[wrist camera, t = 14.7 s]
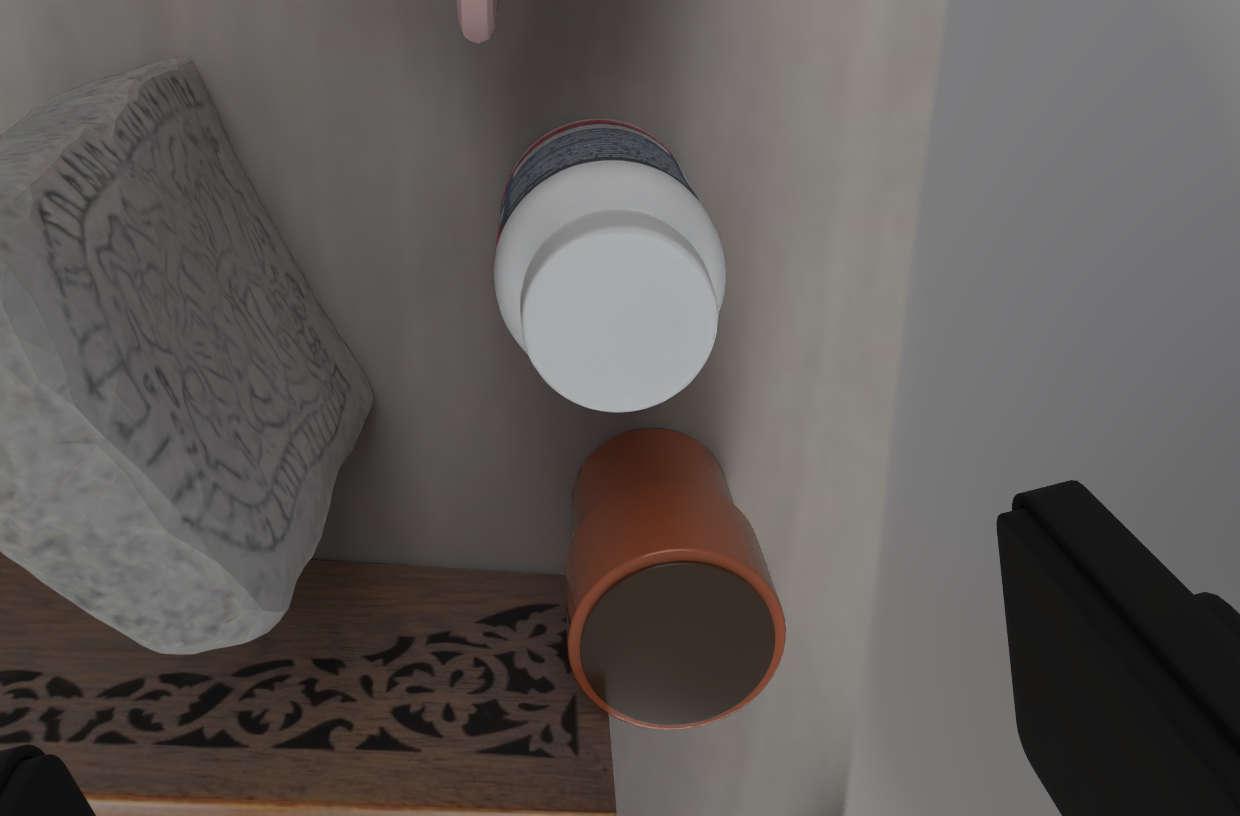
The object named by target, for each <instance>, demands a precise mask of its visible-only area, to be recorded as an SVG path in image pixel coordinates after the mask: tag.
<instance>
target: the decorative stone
mask: <svg viewBox="0 0 1240 816" xmlns="http://www.w3.org/2000/svg"><path fill="white" fill-rule="evenodd" d="M372 404H373V394H372V390H371V387H370V384H369V381H368V379H367V378H366V376H365V375H364V373H363V371H362V370H361V368H360V366H359V365H358V363H357V362H356V360H355V358H354V357H353V355H352V354H351V352H350V350H349V349H348V348H347V346H346V345H345V344H344V342H343V341H342V340H341V338H340V337H339V336H338V334H337V332H336V331H335V329H334V328H333V326H332V324H331V323H330V321H329V320H328V318H327V317H326V316H325V314H324V313H323V311H322V310H321V308H320V307H319V305H318V304H317V301H316V299H315V297H314V295H313V293H312V291H311V289H310V288H309V286H308V284H307V282H306V281H305V279H304V277H303V275H302V274H301V272H300V270H299V269H298V267H297V265H296V263H295V262H294V260H293V258H292V256H291V255H290V253H289V251H288V249H287V248H286V246H285V244H284V243H283V241H282V239H281V237H280V236H279V234H278V232H277V230H276V229H275V227H274V225H273V223H272V222H271V220H270V218H269V217H268V215H267V213H266V211H265V210H264V208H263V206H262V204H261V203H260V201H259V199H258V197H257V195H256V193H255V191H254V189H253V188H252V186H251V184H250V182H249V180H248V178H247V176H246V174H245V172H244V171H243V169H242V167H241V165H240V163H239V161H238V159H237V157H236V155H235V153H234V151H233V149H232V147H231V144H230V142H229V140H228V138H227V136H226V134H225V132H224V129H223V127H222V125H221V123H220V120H219V118H218V116H217V114H216V111H215V109H214V107H213V105H212V103H211V100H210V98H209V96H208V94H207V92H206V90H205V87H204V85H203V83H202V81H201V79H200V77H199V74H198V72H197V70H196V68H195V66H194V65H193V63H192V62H191V61H190V60H188V59H186V58H183V57H180V58H172V59H168V60H163V61H159V62H155V63H151V64H148V65H145V66H142V67H139V68H136V69H134V70H131V71H128V72H125V73H123V74H120V75H116V76H111V77H107V78H103V79H100V80H97V81H94V82H92V83H89V84H86V85H83V86H80V87H77V88H75V89H72V90H70V91H66V92H64V93H62V94H59V95H56V96H55V97H53V98H51V99H50V100H48V101H47V102H45V103H43V104H42V105H40V106H38V107H36V108H35V109H33V110H31V111H30V112H29V113H28V114H27V115H26V117H24V118H23V119H22V120H21V121H19V122H18V123H17V124H15V125H14V126H13V127H11V128H10V129H9V130H7V131H6V132H5V133H3V134H2V135H0V552H2V553H3V554H4V555H5V556H7V557H8V558H9V559H11V560H13V561H14V562H16V563H17V564H19V565H20V566H22V567H24V568H25V569H26V570H27V571H29V572H30V573H31V574H32V575H34V576H35V577H36V578H37V579H39V580H40V581H41V582H42V583H44V584H45V585H47V586H48V587H50V588H51V589H53V590H54V591H56V592H57V593H59V594H60V595H62V596H63V597H65V598H67V599H68V600H70V601H71V602H73V603H74V604H76V605H77V606H78V607H80V608H81V609H83V610H84V611H86V612H87V613H89V614H90V615H92V616H93V617H95V618H96V619H98V620H100V621H102V622H104V623H105V624H107V625H109V626H111V627H113V628H114V629H116V630H118V631H120V632H121V633H123V634H124V635H126V636H128V637H129V638H131V639H132V640H134V641H136V642H137V643H139V644H140V645H142V646H144V647H146V648H148V649H151V650H153V651H156V652H158V653H161V654H180V655H183V654H197V653H200V652H204V651H208V650H213V649H218V648H223V647H229V646H234V645H240V644H243V643H246V642H249V641H251V640H253V639H255V638H258V637H260V636H262V635H264V634H266V633H268V632H269V631H270V630H271V629H272V628H273V627H274V626H275V625H276V624H277V623H278V622H279V621H280V620H281V618H282V617H283V615H284V614H285V613H286V611H287V610H288V608H289V605H290V602H291V598H292V595H293V591H294V588H295V584H296V581H297V579H298V577H299V576H300V574H301V572H302V570H303V568H304V567H305V566H306V564H307V563H308V562H309V560H310V559H311V558H312V556H313V554H314V552H315V549H316V547H317V545H318V543H319V541H320V539H321V537H322V533H323V528H324V524H325V522H326V518H327V515H328V511H329V508H330V504H331V495H332V491H333V488H334V485H335V481H336V478H337V475H338V472H339V469H340V467H341V466H342V464H343V462H344V461H345V459H346V458H347V457H348V456H349V455H350V453H351V452H352V451H353V448H354V446H355V444H356V441H357V439H358V437H359V435H360V433H361V430H362V427H363V425H364V422H365V420H366V418H367V416H368V414H369V412H370V411H371V408H372Z"/></svg>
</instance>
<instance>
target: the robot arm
mask: <svg viewBox="0 0 1240 816" xmlns="http://www.w3.org/2000/svg"><path fill="white" fill-rule="evenodd" d="M997 536H998V545H999V555H1000V565H1001V575H1002V584H1003V595H1004V604H1005V615H1006V624H1007V634H1008V644H1009V654H1010V663H1011V674H1012V684H1013V693H1014V702H1015V713H1016V723H1017V729H1018V733H1019V737H1020V740H1021V743H1022V746H1023V749H1024V752H1025V754H1026V756H1027V758H1028V760H1029V762H1030V764H1031V766H1032V767H1033V769H1034V771H1035V772H1036V774H1037V775H1038V777H1039V779H1040V780H1041V782H1042V784H1043V785H1044V787H1045V789H1046V790H1047V792H1048V793H1049V795H1050V797H1051V798H1052V800H1053V802H1054V803H1055V805H1056V807H1057V808H1058V810H1059V811H1060V813H1061V814H1062V816H1240V614H1239V613H1238V612H1237V611H1236V610H1235V609H1234V608H1233V607H1232V606H1231V605H1229V604H1228V603H1227V602H1225V601H1224V600H1223V599H1221V598H1220V597H1219V596H1217V595H1215V594H1211V593H1207V592H1203V593H1199V594H1195V595H1193V594H1192V593H1191V592H1190V591H1189V590H1188V589H1187V588H1186V587H1185V586H1184V585H1183V584H1182V583H1181V582H1180V581H1179V580H1178V579H1177V578H1176V577H1175V576H1174V575H1173V574H1172V573H1171V572H1170V571H1169V570H1168V569H1167V568H1166V567H1165V566H1164V565H1163V564H1162V563H1161V562H1160V561H1159V560H1158V559H1157V558H1156V557H1155V556H1154V555H1153V554H1152V553H1151V552H1150V551H1149V550H1148V549H1147V548H1146V547H1145V546H1144V545H1143V544H1142V543H1141V542H1140V541H1139V540H1138V539H1137V538H1136V537H1135V536H1134V535H1133V534H1132V533H1131V532H1130V531H1129V530H1128V529H1127V528H1126V527H1125V526H1124V525H1123V524H1122V523H1121V522H1120V521H1119V520H1118V519H1117V518H1116V517H1114V515H1113V514H1112V513H1111V512H1110V511H1109V510H1108V509H1107V508H1106V507H1105V506H1104V505H1103V504H1102V503H1101V502H1099V500H1097V498H1096V497H1095V496H1094V495H1093V494H1092V493H1091V492H1090V491H1089V490H1088V489H1087V488H1086V487H1084V486H1083V485H1082V484H1081V483H1079V482H1078V481H1074V480H1070V481H1066V482H1062V483H1058V484H1055V485H1051V486H1047V487H1043V488H1039V489H1035V490H1031V491H1027V492H1023V493H1019V494H1017V495H1016V496H1015V497H1014V498H1013V503H1012V511H1010V512H1006V513H1002V514H1000V515H999V516H998V518H997ZM0 816H96V814H95V813H94V811H93V810H92V808H91V806H90V805H89V803H88V801H87V800H86V798H85V796H84V795H83V793H82V791H81V790H80V788H79V786H78V785H77V783H76V782H75V780H74V778H73V777H72V775H71V773H70V772H69V770H68V768H67V767H66V765H65V764H64V762H63V761H62V760H61V759H60V758H59V757H57V756H56V755H52V754H47V755H46V754H45V753H44V752H43V751H42V750H41V749H40V748H38V747H36V746H34V745H21V746H17V747H14V748H10V749H6V750H2V751H0Z"/></svg>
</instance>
